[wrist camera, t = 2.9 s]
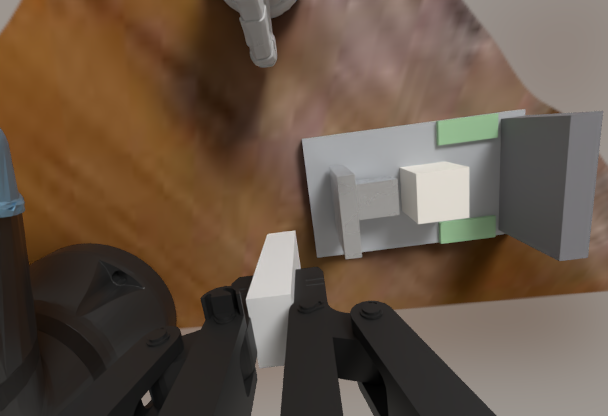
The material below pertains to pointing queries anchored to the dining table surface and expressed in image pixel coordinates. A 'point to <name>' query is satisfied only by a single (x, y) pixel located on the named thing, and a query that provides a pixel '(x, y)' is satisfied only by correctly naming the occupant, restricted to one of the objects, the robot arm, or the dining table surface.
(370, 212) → the plunger
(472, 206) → the bench
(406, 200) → the block
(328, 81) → the dining table surface
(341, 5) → the dining table surface
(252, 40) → the mug
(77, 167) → the dining table surface
